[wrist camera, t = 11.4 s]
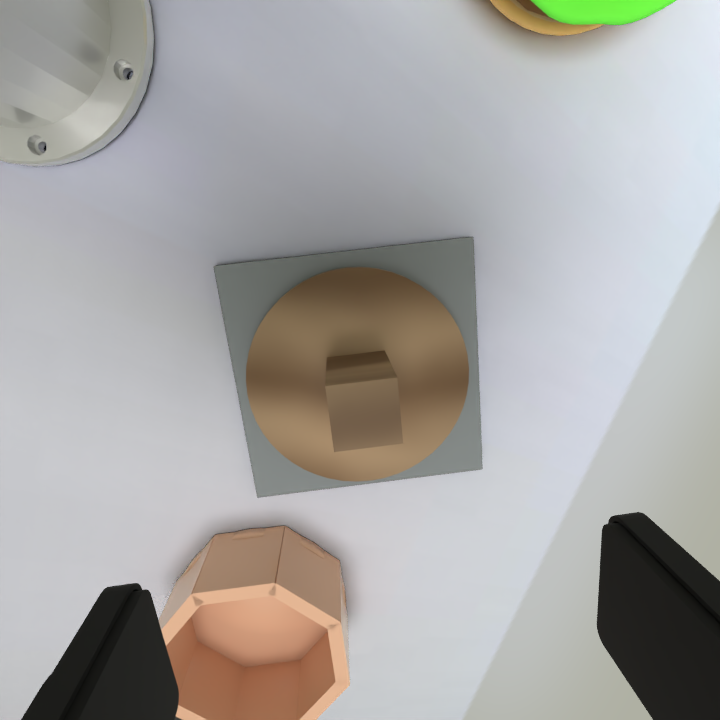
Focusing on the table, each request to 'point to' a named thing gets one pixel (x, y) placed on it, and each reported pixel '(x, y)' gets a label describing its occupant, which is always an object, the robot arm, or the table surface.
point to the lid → (357, 374)
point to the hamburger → (576, 13)
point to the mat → (277, 276)
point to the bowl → (258, 629)
